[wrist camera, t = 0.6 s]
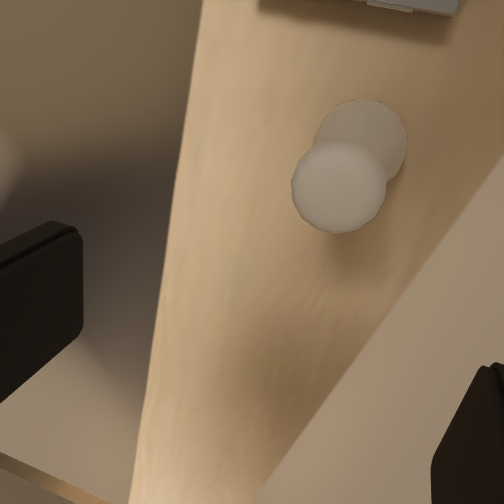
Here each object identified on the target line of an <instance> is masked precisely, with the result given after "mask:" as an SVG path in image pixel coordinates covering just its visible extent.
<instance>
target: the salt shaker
mask: <svg viewBox="0 0 504 504" xmlns="http://www.w3.org/2000/svg"><path fill="white" fill-rule="evenodd" d="M406 154H407V133H406V131H405V129H404V127H403V125H402V123H401V121H400V118H399V116H398V115H397V114H396V113H394V112H393V111H392V110H390V109H389V108H388V107H386V106H385V105H384V104H382V103H381V102H376V101H370V100H363V99H357V100H354V101H350V102H347V103H343V104H340V105H338V106H336V107H335V108H334V109H333V110H332V111H331V112H330V113H329V114H328V115H327V116H326V117H325V118H324V119H323V120H322V122H321V124H320V127H319V129H318V131H317V133H316V136H315V138H314V146H313V148H311V149H310V150H309V151H308V152H307V153H306V154H305V155H304V156H303V157H302V158H300V160H299V162H298V165H297V167H296V169H295V172H294V174H293V177H292V180H291V188H292V200H293V203H294V205H295V206H296V208H297V210H298V212H299V214H300V216H301V218H302V219H304V220H305V221H306V222H308V223H309V224H311V225H312V226H313V227H315V228H316V229H317V230H321V231H325V232H329V233H333V234H342V233H347V232H352V231H356V230H358V229H359V228H361V227H362V226H364V225H365V224H367V223H368V222H369V221H371V220H372V219H373V218H374V217H375V216H376V215H377V213H378V211H379V209H380V207H381V205H382V204H383V202H384V200H385V198H386V183H387V182H389V181H390V180H391V179H392V178H393V177H394V176H396V175H397V173H398V171H399V169H400V167H401V165H402V163H403V161H404V159H405V158H406Z"/></svg>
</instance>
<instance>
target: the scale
mask: <svg viewBox="0 0 504 504" xmlns="http://www.w3.org/2000/svg"><path fill="white" fill-rule="evenodd" d="M353 1H359V2H365V3H367V4H368V5H371V6H377V7H383V8H389V9H394V10H400V11H406V12H412V13H413V11H417V12H423V13H428V14H434V15H440V16H446V17H453V16H454V15H455V14H456V11H457V8H458V5H459V2H460V0H353Z"/></svg>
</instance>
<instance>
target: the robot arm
mask: <svg viewBox="0 0 504 504" xmlns="http://www.w3.org/2000/svg"><path fill="white" fill-rule="evenodd" d="M82 328H83V240H82V237H81V236H80V235H79V234H78V231H77V229H76V228H75V227H73V226H70V225H67V224H63V223H61V222H58V221H53V220H52V221H48V222H46V223H44V224H42V225H40V226H38V227H36V228H34V229H32V230H30V231H28V232H26V233H23V234H21V235H19V236H17V237H15V238H13V239H11V240H9V241H7V242H5V243H3V244H1V245H0V403H1V402H2V401H4V400H5V399H6V398H7V397H8V396H9V395H11V394H12V393H13V392H14V391H15V390H16V389H18V388H19V387H20V386H21V385H22V384H23V383H24V382H26V381H27V380H28V379H29V378H30V377H32V376H33V375H34V374H35V373H36V372H37V371H38V370H40V369H41V368H42V367H43V366H44V365H45V364H47V363H48V362H49V361H50V360H51V359H52V358H53V357H55V356H56V355H57V354H58V353H59V352H61V350H63V349H64V348H65V347H66V346H67V345H69V344H70V343H71V342H72V341H73V340H74V339H76V338H77V337H78V335H79V334H80V332H81V330H82ZM431 500H432V504H504V365H503V364H500V363H497V362H495V363H493V364H492V365H491V366H490V367H486V366H481V367H480V368H479V369H478V371H477V373H476V375H475V377H474V379H473V381H472V383H471V385H470V386H469V388H468V390H467V392H466V394H465V396H464V398H463V400H462V402H461V404H460V406H459V408H458V410H457V411H456V413H455V416H454V417H453V419H452V421H451V423H450V425H449V427H448V429H447V431H446V433H445V435H444V437H443V438H442V440H441V442H440V444H439V446H438V448H437V450H436V452H435V454H434V456H433V459H432V464H431ZM0 504H113V503H111V502H108V501H106V500H104V499H102V498H100V497H98V496H95V495H93V494H91V493H89V492H87V491H85V490H82V489H80V488H78V487H76V486H74V485H71V484H69V483H67V482H65V481H63V480H60V479H58V478H56V477H54V476H52V475H50V474H48V473H45V472H43V471H41V470H38V469H36V468H34V467H32V466H30V465H28V464H26V463H24V462H21V461H19V460H17V459H15V458H12V457H10V456H8V455H6V454H4V453H1V452H0Z"/></svg>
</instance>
